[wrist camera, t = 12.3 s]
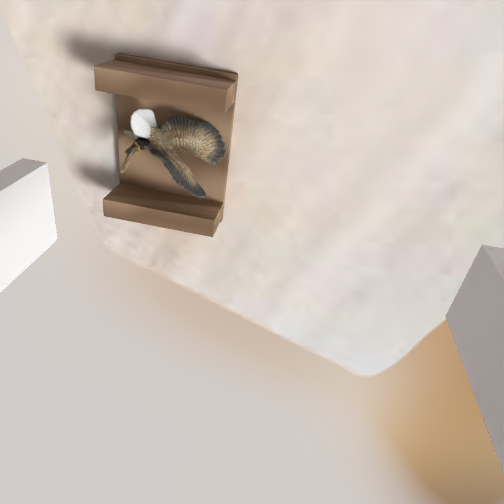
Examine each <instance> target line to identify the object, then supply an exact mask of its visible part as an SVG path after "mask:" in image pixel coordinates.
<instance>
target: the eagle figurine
mask: <svg viewBox="0 0 504 504" xmlns="http://www.w3.org/2000/svg"><path fill="white" fill-rule="evenodd" d="M130 123H131V129H132V131H133V133H132V132H130V131H128V130H124V133H126V134H128V135H129V136H130V137H131V138H133V140H134V143H133V144H132V145H131V146H130V147H129V148H128V149H127V150H126V151H125V154H127V156H126V159H125V161H124V164H123V165H122V167H121V169H120V171H119V173H123V172H124V171H125V170H126V169H127V168H128V165H129V163H130V162H131V160H132V157H133V156H134V155H135V154H137V153H138V152H139V151H140V150H146V149H149V151H150V152H151V154H152V155H153V156H155V157H158V158H160V159H161V161H162V162H163V163H164V166H165V167H166V168H167V169H168V170H169V173H170V174H171V175H172V178H173V180H174V181H175V182H176V183H177V184H178V185H179V184H180V186H181V187H183V188H184V189H185V190H186V191H188V192H189V193H191V194H192V195H193V196H197V197H201V198H203V197H205V198H207V196H206V193H205V192H204V189H203V188H202V187H201V186H200V185H199V184H198V183H197V181H196V180H195V178H194V176H193V174H192V172H191V170H190V169H189V167H188V166H187V165H186V164H185V163H184V162H183V161H182V160H181V159H180V158H179V157H178V156H177V155H176V153H175V152H185V153H188V154H191V155H194V156H197V157H199V158H201V159H203V160H204V161H206V162H208V163H209V164H212V165H215V163H216V162H220V159H221V158H224V157H225V153H226V152H227V151H226V149H225V148H224V147H225V146H226V145H225V143H224V142H223V141H222V140H221V139H222V136H221V135H219V131H218V130H217V129H216V128H215V127H213V126H212V125H209V124H208V123H203V122H200V121H196V122H195V121H194V120H191V119H186V118H185V117H182V116H176V117H173V116H172V117H171V118H168V120H167V121H166V122H164V125H160V127H158V126H157V123H156V120H155V116H154V113H153V111H152V110H149V109H138V110H137V111H134V112H133V114H132V116H131V122H130Z"/></svg>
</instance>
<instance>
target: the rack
mask: <svg viewBox="0 0 504 504" xmlns="http://www.w3.org/2000/svg"><path fill="white" fill-rule="evenodd" d="M94 74H95V89H96V90H97V91H103V92H109V93H114V94H116V96H117V121H118V146H119V171H120V169H121V167H122V165H123V164H124V161H125V159H126V156H127V154H125V151H126V150H127V149H128V148H129V147H130V146H131V145H132V144H133V143H134V140H133V138H131V137H130V136H129V135H128V134H126V133H124V130H128V131H130V132H132V133H133V131H132V129H131V123H130V122H131V116H132V114H133V112H134V111H137V110H138V109H149V110H152V111H153V113H154V116H155V120H156V123H157V126H158V127H160V125H164V122H166V121H167V120H168V118H171V117H172V116H173V117H176V116H182V117H185V118H186V119H191V120H194V121H195V122H196V121H200V122H203V123H208V124H209V125H212V126H213V127H215V128H216V129H217V130H218V131H219V135H221V136H222V139H221V140H222V141H223V142H224V143H225V145H226V146H225V147H224V148H225V149H226V151H227V152H226V153H225V157H224V158H221V159H220V162H216V163H215V165H212V164H209V163H208V162H206V161H204V160H203V159H201V158H199V157H197V156H194V155H191V154H188V153H185V152H175V153H176V155H177V156H178V157H179V158H180V159H181V160H182V161H183V162H184V163H185V164H186V165H187V166H188V167H189V169H190V170H191V172H192V174H193V176H194V178H195V180H196V181H197V183H198V184H199V185H200V186H201V187H202V188H203V189H204V192H205V193H206V196H207V198H205V197H203V198H201V197H197V196H193V195H192V194H191V193H189V192H188V191H186V190H185V189H184V188H183V187H181V186H180V184H179V185H178V184H177V183H176V182H175V181H174V180H173V178H172V175H171V174H170V173H169V170H168V169H167V168H166V167H165V166H164V163H163V162H162V161H161V159H160V158H158V157H155V156H153V155H152V154H151V152H150V151H149V149H146V150H140V151H139V152H138V153H137V154H135V155H134V156H133V157H132V160H131V162H130V163H129V165H128V168H127V169H126V170H125V171H124V172H123V173H120V184H119V185H117V186H116V187H115V188H114V189H113V190H112V191H111V192H110V193H109V194H108V195H107V196H106V197H105V198H104V199H103V211H104V216H106V217H112V218H117V219H122V220H127V221H132V222H137V223H143V224H148V225H153V226H158V227H163V228H168V229H173V230H179V231H184V232H189V233H194V234H199V235H204V236H210V237H213V235H214V233H215V231H216V229H217V227H218V225H219V222H221V221H222V218H223V209H224V200H225V191H226V181H227V172H228V163H229V154H230V144H231V135H232V126H233V117H234V108H235V98H236V89H237V80H238V74H236V73H230V72H225V71H219V70H213V69H207V68H201V67H196V66H190V65H184V64H178V63H172V62H167V61H161V60H155V59H149V58H143V57H137V56H132V55H126V54H120V53H117V54H115V60H113V61H110V62H107V63H104V64H101V65H97V66H94Z"/></svg>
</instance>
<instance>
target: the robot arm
mask: <svg viewBox="0 0 504 504" xmlns="http://www.w3.org/2000/svg"><path fill="white" fill-rule="evenodd" d="M56 240H57V232H56V225H55V218H54V211H53V203H52V197H51V189H50V182H49V174H48V167H47V163H46V162H40V161H35V160H29V159H24V158H22V159H21V160H19V161H17V162H15V163H14V164H12V165H10V166H8V167H7V168H4V169H3V170H1V171H0V292H1V291H2V290H3V289H5V288H6V287H7V286H8V285H9V284H10V283H11V282H12V281H13V280H14V279H15V278H16V277H17V276H19V275H20V274H21V273H22V272H23V271H24V270H25V269H26V268H27V267H28V266H29V265H30V264H32V263H33V262H34V261H35V260H36V259H37V258H38V257H39V256H40V255H41V254H42V253H43V252H44V251H45V250H47V249H48V248H49V247H50V246H51V245H52V244H53V243H54V242H55V241H56ZM446 319H447V322H448V324H449V327H450V330H451V333H452V335H453V338H454V341H455V343H456V346H457V349H458V351H459V354H460V357H461V359H462V362H463V365H464V368H465V370H466V373H467V376H468V378H469V381H470V384H471V386H472V389H473V392H474V394H475V397H476V400H477V403H478V406H479V408H480V411H481V414H482V416H483V419H484V422H485V425H486V427H487V430H488V433H489V435H490V438H491V441H492V443H493V446H494V449H495V452H496V454H497V457H498V460H499V462H500V465H501V468H502V470H503V473H504V249H502V248H497V247H492V246H486V245H482V246H481V248H480V250H479V252H478V254H477V256H476V258H475V260H474V261H473V263H472V265H471V267H470V269H469V271H468V273H467V275H466V277H465V279H464V281H463V283H462V285H461V287H460V289H459V291H458V293H457V295H456V297H455V299H454V301H453V303H452V305H451V307H450V309H449V311H448V313H447V314H446Z"/></svg>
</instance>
